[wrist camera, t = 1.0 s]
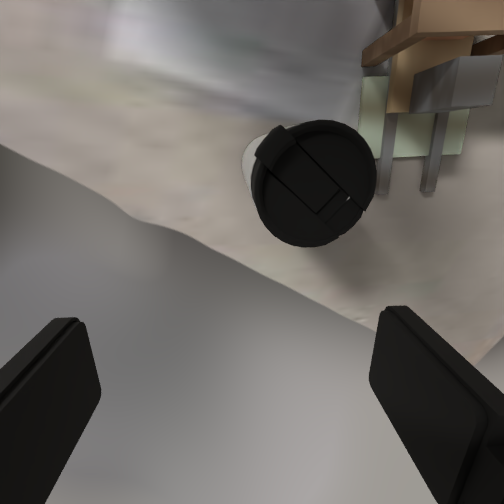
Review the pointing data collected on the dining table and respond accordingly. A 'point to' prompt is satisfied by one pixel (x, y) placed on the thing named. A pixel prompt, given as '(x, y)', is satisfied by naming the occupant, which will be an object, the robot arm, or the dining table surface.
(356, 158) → the travel mug
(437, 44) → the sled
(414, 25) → the tunnel track
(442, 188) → the dining table surface
